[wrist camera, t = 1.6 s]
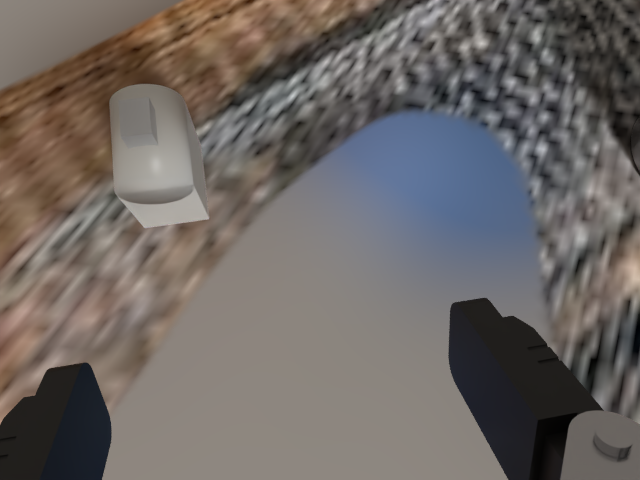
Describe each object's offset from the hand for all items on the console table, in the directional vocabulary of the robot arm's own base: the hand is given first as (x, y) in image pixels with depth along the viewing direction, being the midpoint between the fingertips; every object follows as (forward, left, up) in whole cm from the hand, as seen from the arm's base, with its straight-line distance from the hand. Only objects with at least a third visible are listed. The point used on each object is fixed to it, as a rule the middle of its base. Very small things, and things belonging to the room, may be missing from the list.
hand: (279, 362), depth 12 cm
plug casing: (+6, -15, -23) cm, 28 cm away
